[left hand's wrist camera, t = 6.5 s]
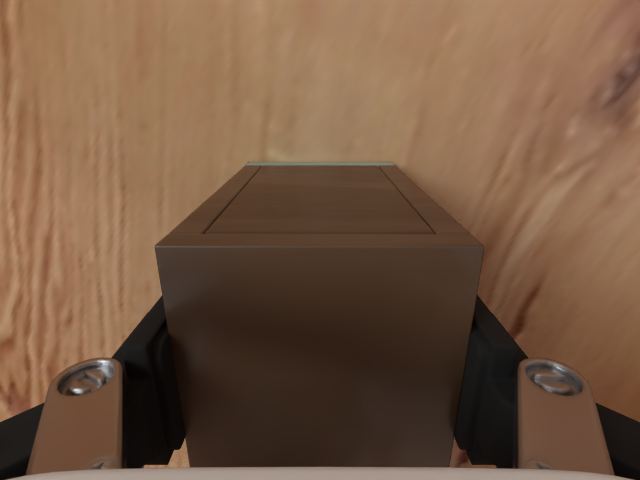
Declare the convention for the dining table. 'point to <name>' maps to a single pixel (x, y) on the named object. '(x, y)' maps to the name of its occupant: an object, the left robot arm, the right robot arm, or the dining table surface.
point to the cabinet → (319, 318)
